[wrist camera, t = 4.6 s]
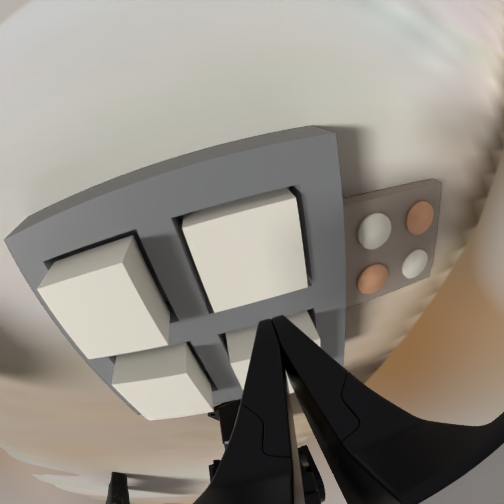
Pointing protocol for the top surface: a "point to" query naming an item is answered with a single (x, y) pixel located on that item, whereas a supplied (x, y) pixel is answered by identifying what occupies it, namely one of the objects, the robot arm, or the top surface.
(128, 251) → the button front left
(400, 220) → the pattern card
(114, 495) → the ceramic cat
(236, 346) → the button back right
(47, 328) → the top surface
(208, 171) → the control panel
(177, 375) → the button back left
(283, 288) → the button front right
